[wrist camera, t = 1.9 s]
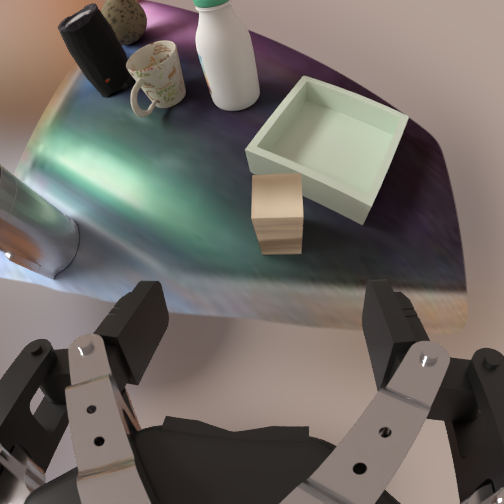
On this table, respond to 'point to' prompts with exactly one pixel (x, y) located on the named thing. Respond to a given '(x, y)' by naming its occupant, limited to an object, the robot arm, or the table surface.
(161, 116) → the table surface
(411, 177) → the table surface
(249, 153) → the bin
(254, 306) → the table surface
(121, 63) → the portable speaker
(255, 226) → the birch block
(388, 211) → the table surface
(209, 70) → the milk bottle
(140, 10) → the decorative egg
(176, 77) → the mug
